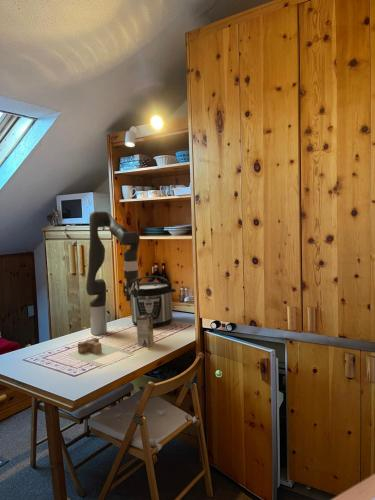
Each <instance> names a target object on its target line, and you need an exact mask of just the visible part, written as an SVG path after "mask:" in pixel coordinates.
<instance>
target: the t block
mask: <svg viewBox="0 0 375 500" xmlns="http://www.w3.org/2000/svg"><path fill="white" fill-rule="evenodd" d="M101 344H102V343H101V342H100V339H99V338H98V337H97V338H96V337H95V338H91V339H87V340H85V341H82V342H81V341H80V342H78V343H77V349H78V350H77V351H78V353H80V354H83V353H86V352H90V353H93V354H99V353H102V348H101Z"/></svg>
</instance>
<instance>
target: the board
mask: <svg viewBox="0 0 375 500" xmlns="http://www.w3.org/2000/svg"><path fill="white" fill-rule="evenodd" d="M101 348H102V353H99V354H93V353H90V352H86V353H83V354H80V353H78V350H77V351H75V352H71V353H67V354H66V356H68V357H70V358H73V359H76V360H79V361H81V362H84V363H87V364H91V365H93V366H96V367H98V369H102V368H104V367H107V366H109V365H112V364H115V363H117V362H119V361H122V360H125V359H127V358H130V357H132V356H134V352H133V351H130V350H129V351H128V350H125V349H121V348H118V347H116V346H111V345H107V344H104V343H101ZM111 362H112V363H111Z"/></svg>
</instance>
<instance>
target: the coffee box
mask: <svg viewBox="0 0 375 500" xmlns="http://www.w3.org/2000/svg"><path fill="white" fill-rule="evenodd" d="M136 331H137V333H136V334H137V346H138V347H144V348H147V349H149V348H150V347H151V346H152V345H153V344H154V343H155V341H154V327H153V319H152V315H141V316H139V317H138V318H137V326H136Z"/></svg>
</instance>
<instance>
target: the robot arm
mask: <svg viewBox="0 0 375 500" xmlns="http://www.w3.org/2000/svg"><path fill="white" fill-rule="evenodd" d="M88 226H89V249H88V271H87V277H86V284H85V285H86V286H85V287H86V288H85V289H86V293H87V295H88V296H89V297H90V296H91V297H92V296H95V298H94V299H92V300H90V301H89V309H90V310H89V311H90V318H89V321H90V333H91V335H93V336H102V335H105V334H107V333H108V328H107V327H108V326H107V325H108V324H107V308H106V307H107V305H106V302H107V286H106V285H107V284H106V282H105V279H103V278H97V279H96V277H97V273H98V272H99V269H100V268H101V267H102V265H103V263H104V262H105V257H106V248H105V246H104V244H103V242H102V240H101V238H100V237H99V228H109V232H110V233H111V235H113V237H115V238H117V240H118V241H119V243H120V244H121V245H123V246H130V247H129V248H128V249H126V250H124V251H123V278H124V279H125V280H126V281H123V283H122V284H123V286H122V287H123V288H122V290H123V291H122V292H123V294H124V295H125V300H126V302H131V297H130V292H131V290H132V288H133V290H134V291H133V297H134V298H137V297H138V292H137V291H138V289H139V288H140V287H139V278H140V277H139V263H138V250H139V246H140V242H141V241H140V240H141V238H140V235H139V232H137V231H129V230H128V229H127V228H126V227H124V225H121V224H120V223H119V222H118V221H116V220H115V218H114V217H113V216H112V215H111V214H110V213H109V212H107V211H103V210H102V211H100V210H99V211H95V210H94V211H91V212H90V213H89V225H88ZM137 285H138V286H137Z"/></svg>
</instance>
